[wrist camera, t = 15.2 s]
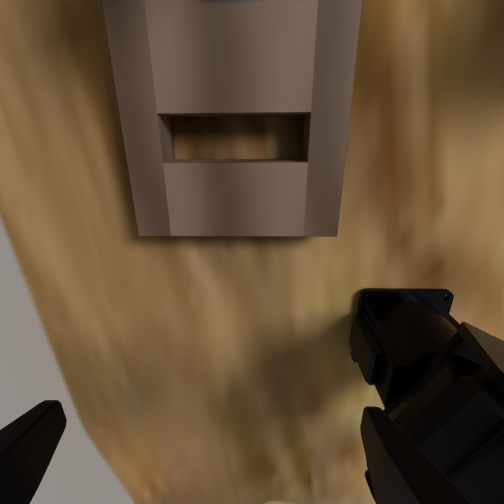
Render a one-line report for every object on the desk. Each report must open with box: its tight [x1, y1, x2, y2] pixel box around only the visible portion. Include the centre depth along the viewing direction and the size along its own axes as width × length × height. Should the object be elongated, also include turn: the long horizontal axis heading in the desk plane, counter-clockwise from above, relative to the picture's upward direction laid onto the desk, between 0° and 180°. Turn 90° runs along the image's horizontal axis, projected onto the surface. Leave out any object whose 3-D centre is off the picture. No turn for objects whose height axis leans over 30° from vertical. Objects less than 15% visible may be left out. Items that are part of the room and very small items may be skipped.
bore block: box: [102, 0, 362, 237], centre depth 15 cm, size 12×22×2 cm, turn 0°
